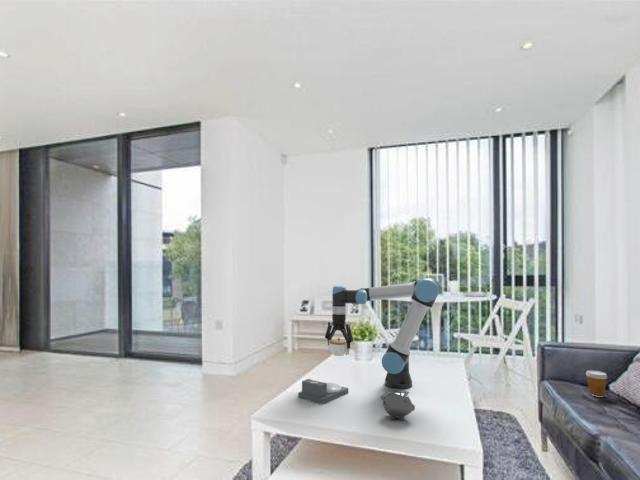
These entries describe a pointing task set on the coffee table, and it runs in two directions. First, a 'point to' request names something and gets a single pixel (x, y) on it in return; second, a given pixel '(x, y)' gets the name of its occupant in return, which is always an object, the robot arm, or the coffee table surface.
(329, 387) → the scale
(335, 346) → the lidded jar
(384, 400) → the piggy bank
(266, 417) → the coffee table surface
